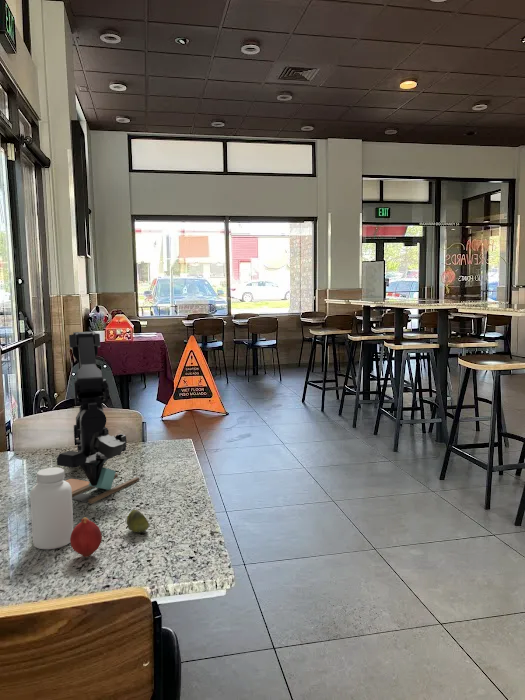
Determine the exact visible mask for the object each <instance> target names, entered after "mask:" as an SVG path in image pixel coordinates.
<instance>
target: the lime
mask: <svg viewBox="0 0 525 700" xmlns="http://www.w3.org/2000/svg"><path fill="white" fill-rule="evenodd" d="M147 519H148V518H147V517H145V515H144V514H143V513H142V512H141V511H140V510H138V509H132V510H131V511H130V512H129V514H128V515H127V518H126V525H127V528H128V530H129V531H131V532H133V533H143V532H146V531H147V530H149V527H150V524H149V520H147Z"/></svg>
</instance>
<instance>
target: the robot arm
mask: <svg viewBox="0 0 525 700" xmlns="http://www.w3.org/2000/svg"><path fill="white" fill-rule="evenodd" d="M100 334H101V333H96V331H80V332H79V331H75V332H74V331H73V332H72V334H69V335H68V342H69V343H68V345H69V349H71V352H72V353H71V354H72V357H73V358H74V359H75V360H76V361H77V363H78V364H77V365H78V370H77V371H76V380H74V381H73V387H74V391H73V392H74V404H75V407H77V406H78V407H79V411H78V413H77V415H76V417H75V424H73V440H74V446H76V447H77V451H76V450H68V451H65V452H62V453H59V454H58V455H57V456H56V466H61V467H66V468H72V469H73V468H78V467H80V469H82V471H83V472H84V474H85V476H86V478H87V479H88V482H90V483H91V485H92V486H96V485H97V483H98V479H99V476H100V473H101V470H102V467H103V466H104V464H105V463H106V462H107V461H109V460H110V459H113V458H114V457H117V456H121V455H122V452H125V451H126V450H127V435H126V434H124V433H118V434H117V435H110V434H109V433H110V432H109V429H108V427H106V425H107V416H106V414H105V412H104V405H103V404H108V403H109V401H108V400H110V397H111V396H110V387H109V383H108V381H107V379H106V378H104V376H103V371H102V370H101V369H100V368H99V367H98V366H97V361H96V359H97V356H98V354H99V350H98V349H99V348H100V347H101V335H100ZM103 468H104V467H103Z"/></svg>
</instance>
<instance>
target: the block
mask: <svg viewBox="0 0 525 700" xmlns="http://www.w3.org/2000/svg"><path fill="white" fill-rule="evenodd" d="M116 473H117V472H116V470H113V469H111V468H108V467H102V470H101V473H100V476H99V479H98V483H97V485H96V486H92V485H91V483H90V482H89V481H88V482H89V486H92V487H94V488H97V489H100V490H106V491H108V490H110V489H112V486H113V483H114V479H115V478H114V476H115V474H116Z"/></svg>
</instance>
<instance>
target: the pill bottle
mask: <svg viewBox="0 0 525 700" xmlns="http://www.w3.org/2000/svg"><path fill="white" fill-rule="evenodd" d="M65 478H66V477H65V469H64V468H61V467H47V468H42V469H40V470H38V471H37V473H36V484H35V485H33V487H31V490H30V493H29V494H30V495H29V497H30V512H31V513H30V516H31V532H32V545H33V546H34V547H35V548H37V549H40V550H53V549H59V548H63V547H64V546H66V545H68V544H69V545H70V544H71V543H70V537H71V534H72V531H73V529H74V513H73V500H72V489H71V486H70V484H69V483H68V482H66V480H65Z"/></svg>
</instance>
